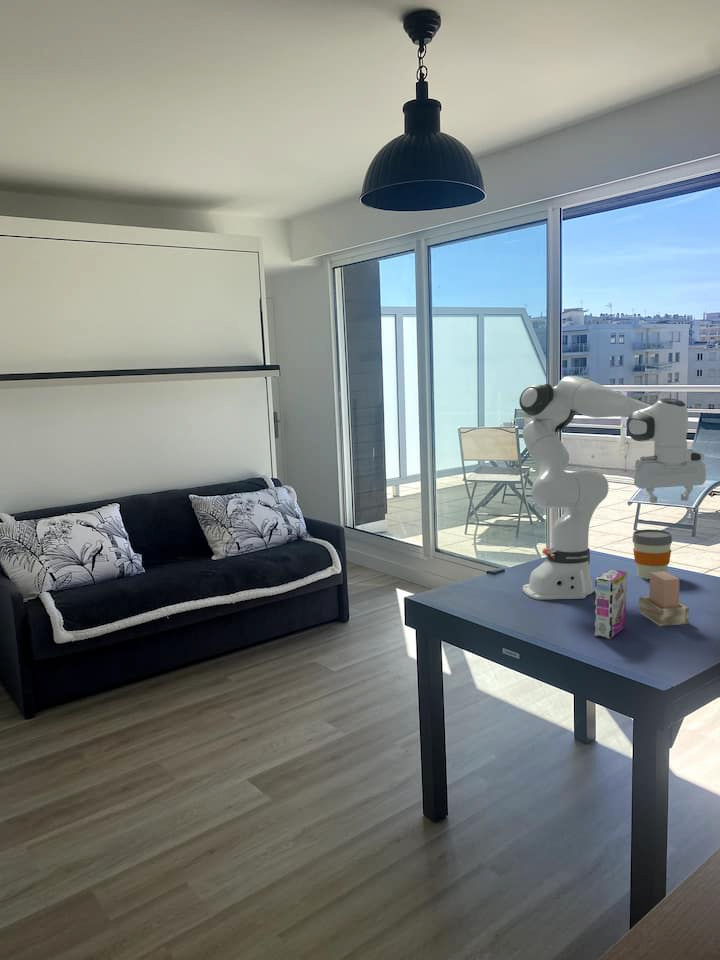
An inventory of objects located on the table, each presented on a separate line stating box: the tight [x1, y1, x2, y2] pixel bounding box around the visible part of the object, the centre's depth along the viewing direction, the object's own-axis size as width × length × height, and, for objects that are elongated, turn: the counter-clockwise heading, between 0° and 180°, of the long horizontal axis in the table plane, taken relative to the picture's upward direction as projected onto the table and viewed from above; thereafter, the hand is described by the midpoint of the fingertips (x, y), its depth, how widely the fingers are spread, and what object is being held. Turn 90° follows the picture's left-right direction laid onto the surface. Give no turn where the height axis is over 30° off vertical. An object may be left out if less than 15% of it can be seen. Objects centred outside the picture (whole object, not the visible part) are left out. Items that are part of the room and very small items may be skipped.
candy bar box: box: [594, 569, 627, 640], centre depth 200 cm, size 11×5×16 cm, turn 141°
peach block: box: [649, 571, 680, 609], centre depth 209 cm, size 4×8×12 cm, turn 8°
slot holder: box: [638, 595, 690, 627], centre depth 209 cm, size 8×12×5 cm
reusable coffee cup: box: [632, 528, 673, 580], centre depth 249 cm, size 13×13×15 cm
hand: (669, 501), depth 214 cm, fingers open, 8 cm apart
